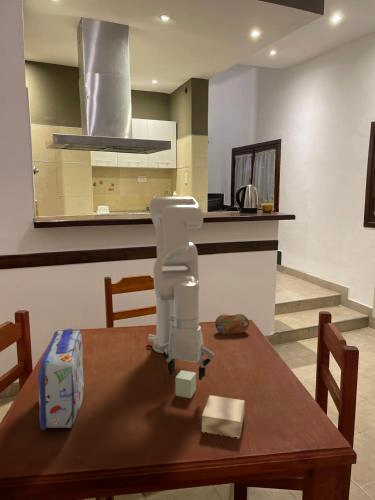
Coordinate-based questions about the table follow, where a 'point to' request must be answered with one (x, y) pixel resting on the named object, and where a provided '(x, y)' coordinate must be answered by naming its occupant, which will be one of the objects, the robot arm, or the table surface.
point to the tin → (231, 323)
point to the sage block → (185, 384)
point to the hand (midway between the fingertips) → (186, 375)
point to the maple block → (223, 416)
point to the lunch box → (61, 380)
